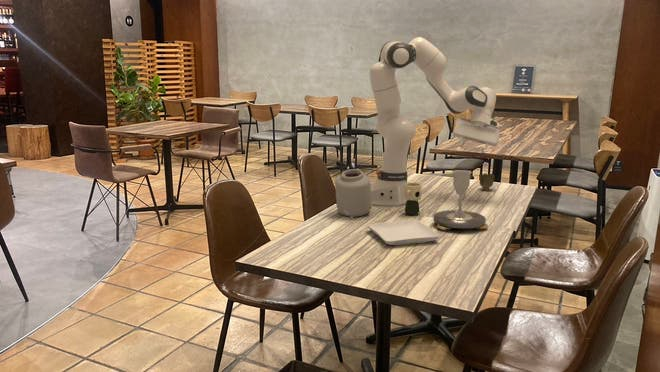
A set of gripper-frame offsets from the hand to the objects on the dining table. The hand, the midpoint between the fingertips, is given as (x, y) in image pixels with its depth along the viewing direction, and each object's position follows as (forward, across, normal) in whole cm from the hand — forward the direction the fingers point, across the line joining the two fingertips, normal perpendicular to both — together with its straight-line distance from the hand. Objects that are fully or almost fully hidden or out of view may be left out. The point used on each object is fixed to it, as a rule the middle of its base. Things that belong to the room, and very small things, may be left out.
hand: (471, 149), depth 246 cm
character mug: (+37, -16, -5) cm, 41 cm away
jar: (+46, -40, -9) cm, 62 cm away
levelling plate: (+40, +3, -17) cm, 43 cm away
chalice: (+37, +2, -19) cm, 41 cm away
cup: (+4, +12, +37) cm, 40 cm away
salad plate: (+54, -16, -31) cm, 64 cm away
